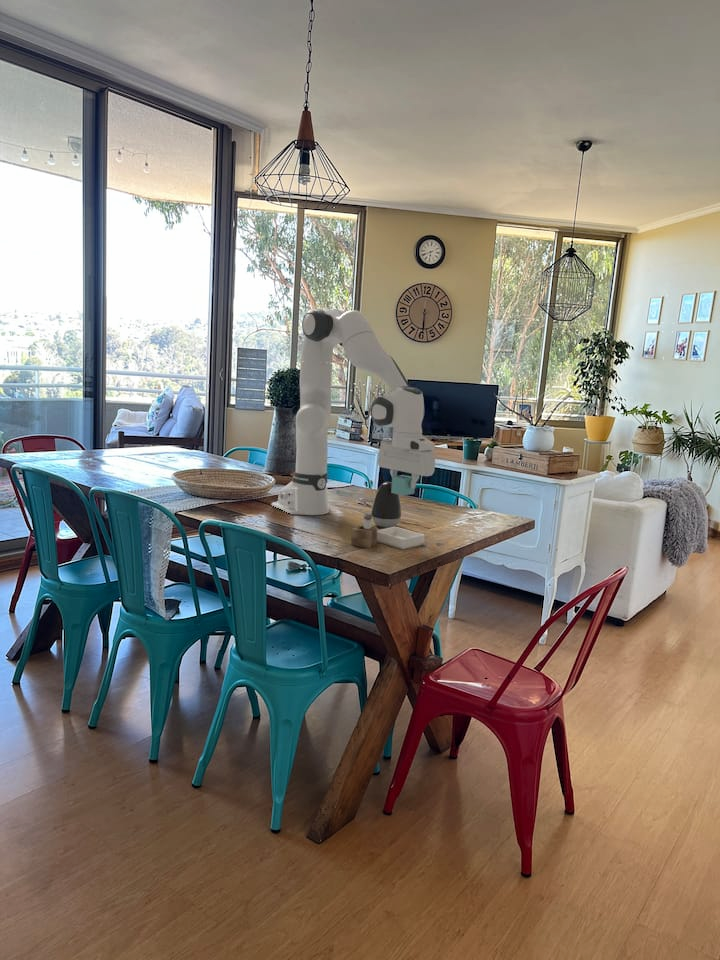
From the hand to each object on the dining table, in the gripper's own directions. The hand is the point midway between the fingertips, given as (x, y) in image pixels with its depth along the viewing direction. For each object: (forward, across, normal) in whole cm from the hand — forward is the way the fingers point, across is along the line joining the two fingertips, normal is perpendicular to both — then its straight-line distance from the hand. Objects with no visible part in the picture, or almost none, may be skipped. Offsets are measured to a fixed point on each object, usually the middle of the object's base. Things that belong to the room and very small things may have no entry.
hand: (403, 486), depth 212 cm
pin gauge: (+18, -5, -10) cm, 21 cm away
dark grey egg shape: (+18, -17, +12) cm, 27 cm away
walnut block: (+18, -5, -11) cm, 21 cm away
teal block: (+2, 0, 0) cm, 2 cm away
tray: (+18, 0, 0) cm, 18 cm away
